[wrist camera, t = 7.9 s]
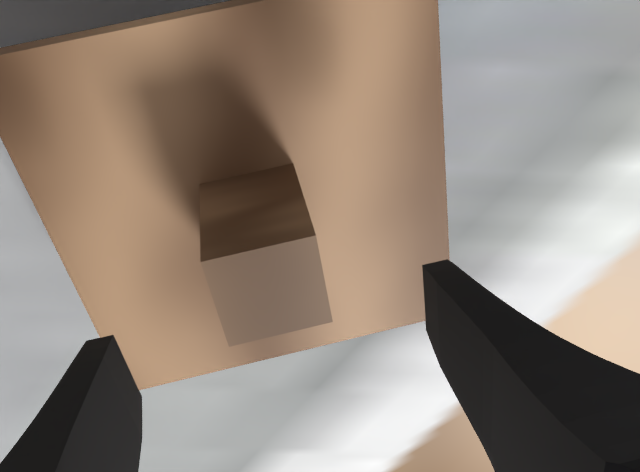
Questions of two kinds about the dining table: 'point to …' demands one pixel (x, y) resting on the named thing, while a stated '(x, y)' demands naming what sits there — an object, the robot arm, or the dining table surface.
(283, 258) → the lid
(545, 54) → the dining table surface
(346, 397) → the dining table surface
